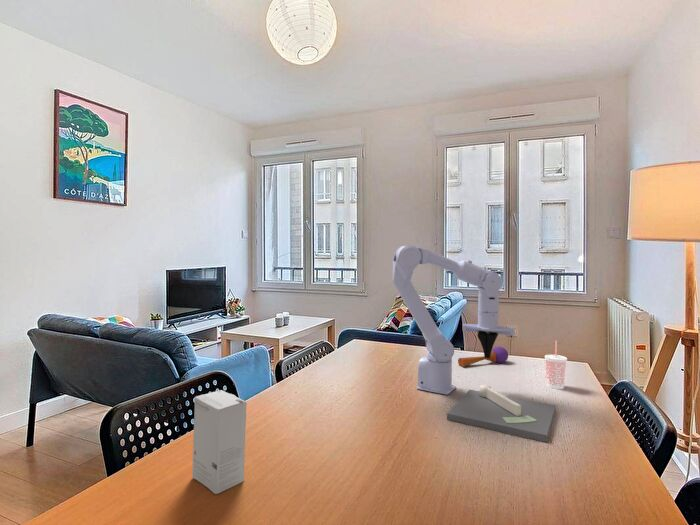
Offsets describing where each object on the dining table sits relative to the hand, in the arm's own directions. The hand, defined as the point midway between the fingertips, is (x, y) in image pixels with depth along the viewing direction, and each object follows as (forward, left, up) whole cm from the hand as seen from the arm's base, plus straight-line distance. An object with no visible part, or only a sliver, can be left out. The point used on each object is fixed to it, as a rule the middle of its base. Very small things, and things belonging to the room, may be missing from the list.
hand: (487, 357), depth 121 cm
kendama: (-7, +26, -10) cm, 29 cm away
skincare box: (-29, -75, -10) cm, 81 cm away
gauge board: (+8, -18, -9) cm, 22 cm away
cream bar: (+7, -15, -8) cm, 18 cm away
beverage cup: (+17, +13, -10) cm, 23 cm away
